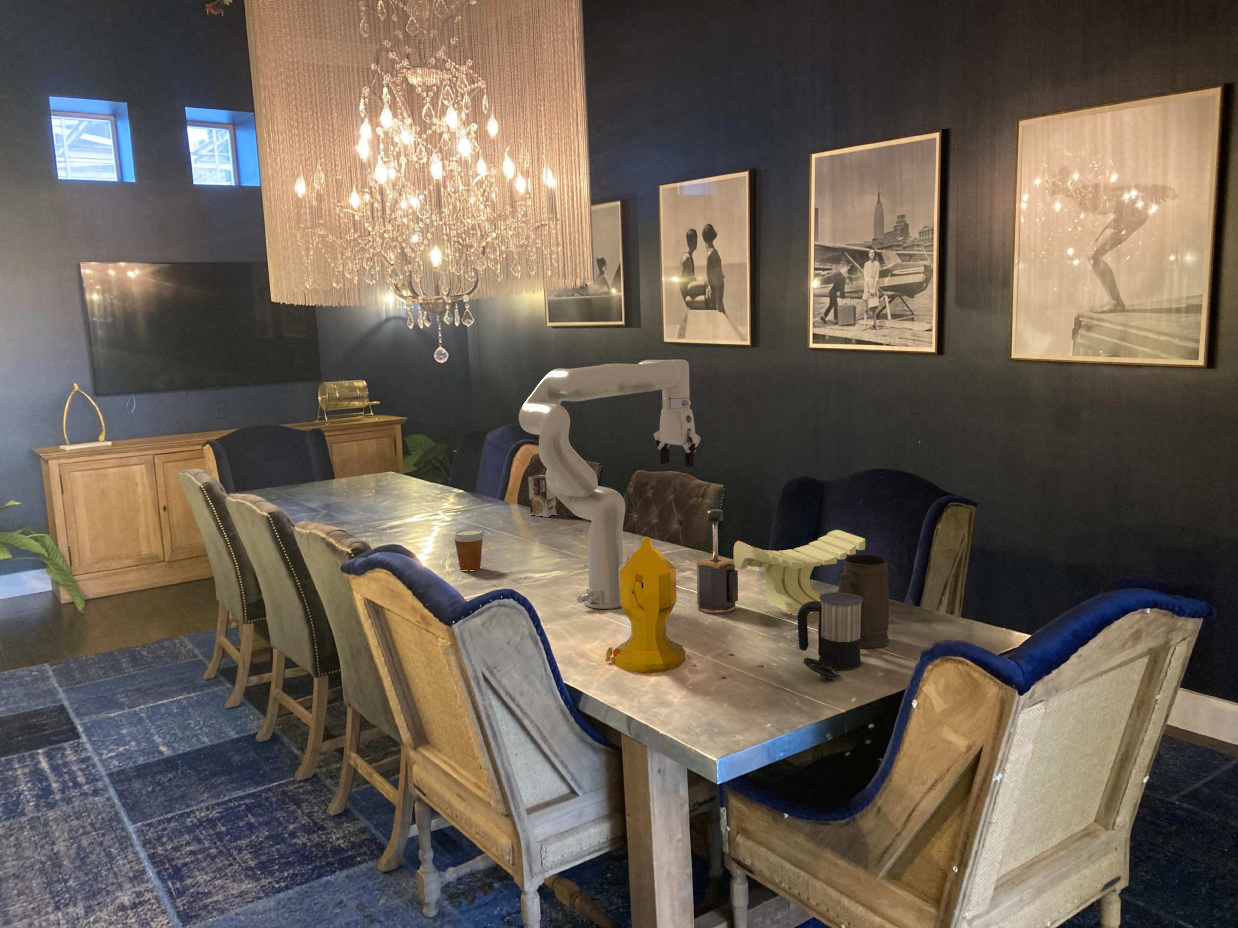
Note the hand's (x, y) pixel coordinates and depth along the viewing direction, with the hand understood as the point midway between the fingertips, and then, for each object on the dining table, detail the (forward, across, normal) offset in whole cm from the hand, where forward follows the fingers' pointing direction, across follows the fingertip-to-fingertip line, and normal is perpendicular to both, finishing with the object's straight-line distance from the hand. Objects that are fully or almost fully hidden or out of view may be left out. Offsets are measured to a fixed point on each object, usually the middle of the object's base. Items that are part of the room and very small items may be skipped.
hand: (676, 464), depth 270 cm
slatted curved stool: (+35, -36, -9) cm, 51 cm away
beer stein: (+35, -66, +7) cm, 75 cm away
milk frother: (+36, -71, +24) cm, 83 cm away
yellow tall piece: (+36, -37, +48) cm, 71 cm away
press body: (+35, -23, +9) cm, 43 cm away
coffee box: (+35, +116, -40) cm, 127 cm away
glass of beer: (+36, +62, +30) cm, 78 cm away
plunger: (+24, -23, +9) cm, 34 cm away
